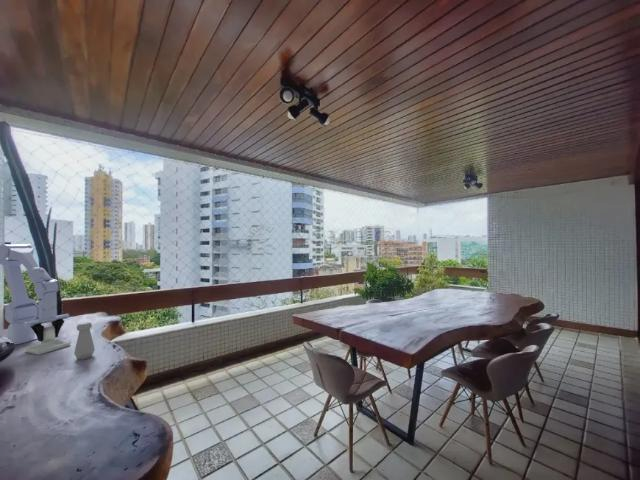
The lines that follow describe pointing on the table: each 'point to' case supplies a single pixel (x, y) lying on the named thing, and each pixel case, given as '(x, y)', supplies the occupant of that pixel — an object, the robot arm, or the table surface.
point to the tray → (47, 347)
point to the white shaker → (48, 334)
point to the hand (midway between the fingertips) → (48, 339)
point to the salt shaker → (84, 342)
